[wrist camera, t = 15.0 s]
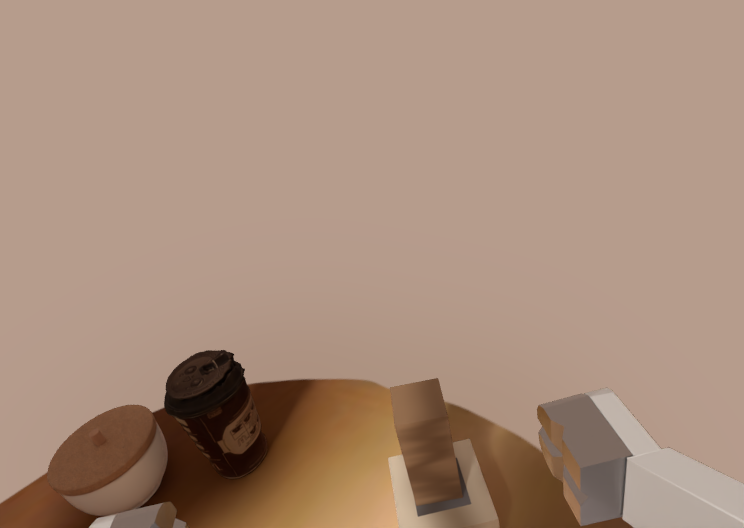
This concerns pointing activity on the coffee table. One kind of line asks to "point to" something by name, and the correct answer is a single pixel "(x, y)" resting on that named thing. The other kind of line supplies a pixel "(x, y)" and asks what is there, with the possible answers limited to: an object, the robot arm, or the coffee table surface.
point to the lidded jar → (111, 462)
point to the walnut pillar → (426, 441)
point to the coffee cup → (217, 411)
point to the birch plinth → (452, 517)
